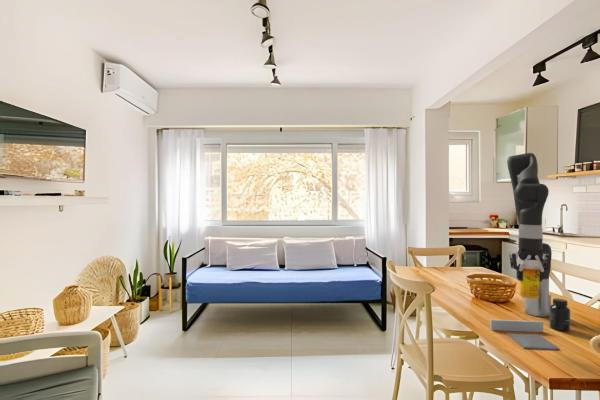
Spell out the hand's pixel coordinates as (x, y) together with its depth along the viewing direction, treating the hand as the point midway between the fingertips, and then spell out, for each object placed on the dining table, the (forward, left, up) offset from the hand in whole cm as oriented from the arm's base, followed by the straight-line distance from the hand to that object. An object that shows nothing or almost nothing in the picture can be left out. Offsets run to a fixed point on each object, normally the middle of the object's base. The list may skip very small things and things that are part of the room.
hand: (529, 280), depth 129 cm
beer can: (0, 0, -7) cm, 7 cm away
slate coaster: (-1, +1, -23) cm, 23 cm away
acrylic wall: (-1, -10, -23) cm, 25 cm away
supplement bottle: (-20, -14, -23) cm, 34 cm away
